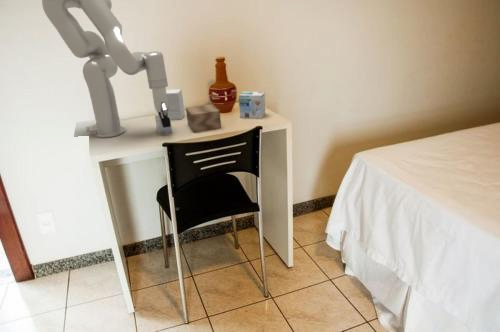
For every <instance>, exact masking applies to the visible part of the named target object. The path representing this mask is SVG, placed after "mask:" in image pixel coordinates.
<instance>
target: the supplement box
mask: <svg viewBox="0 0 500 332" xmlns="http://www.w3.org/2000/svg"><path fill="white" fill-rule="evenodd" d="M166 93H167V99H168V107H169V111H168V114H169V116H170V119H171V121H173V120H182V119H183V118H184V117H185V116H186V111H185V107H184V106H185V105H184V98H183V90H182V89H181V88H180V89H179V88H177V89H166Z"/></svg>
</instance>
